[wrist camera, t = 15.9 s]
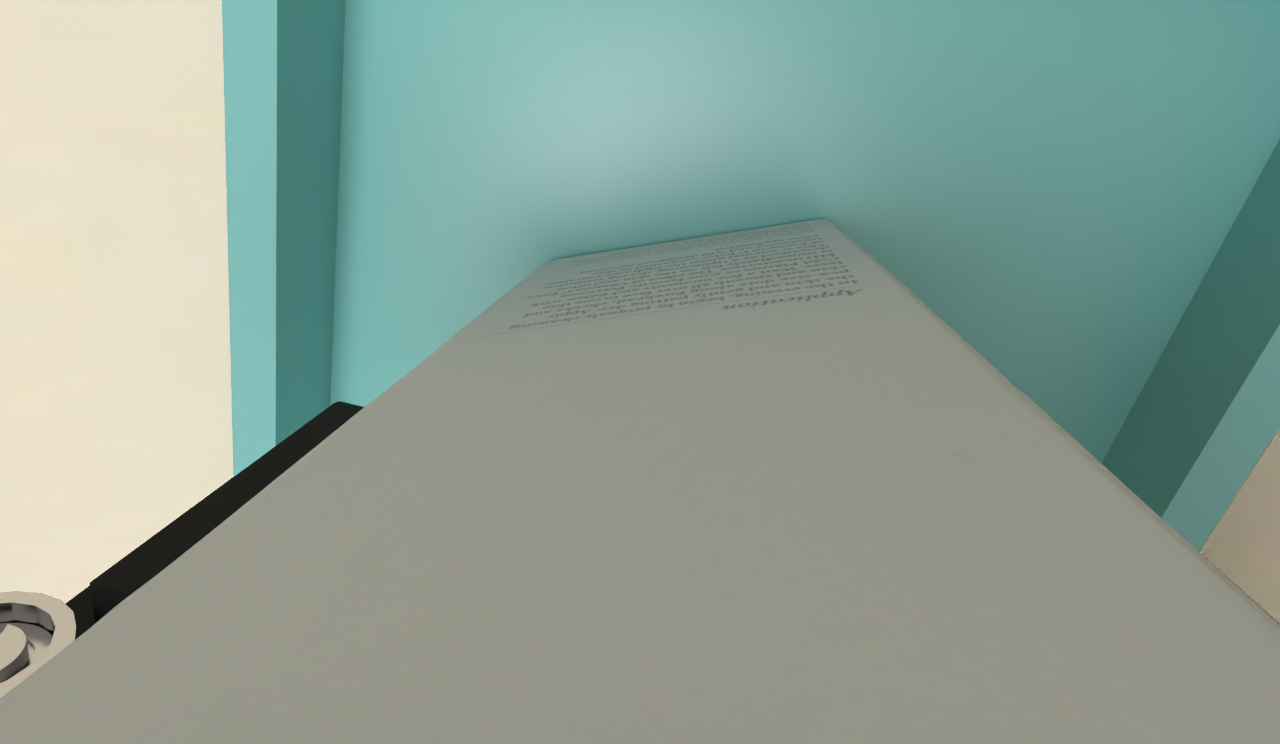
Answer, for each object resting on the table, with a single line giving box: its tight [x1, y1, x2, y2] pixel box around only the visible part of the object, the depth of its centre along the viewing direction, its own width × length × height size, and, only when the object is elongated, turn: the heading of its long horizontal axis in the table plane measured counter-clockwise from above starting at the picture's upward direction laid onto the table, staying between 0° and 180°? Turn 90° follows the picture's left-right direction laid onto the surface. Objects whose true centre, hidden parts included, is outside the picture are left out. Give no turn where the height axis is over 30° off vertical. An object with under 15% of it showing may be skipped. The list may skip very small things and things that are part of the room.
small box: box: [0, 218, 1280, 744], centre depth 10 cm, size 8×6×13 cm
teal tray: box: [222, 0, 1280, 551], centre depth 15 cm, size 20×22×3 cm
